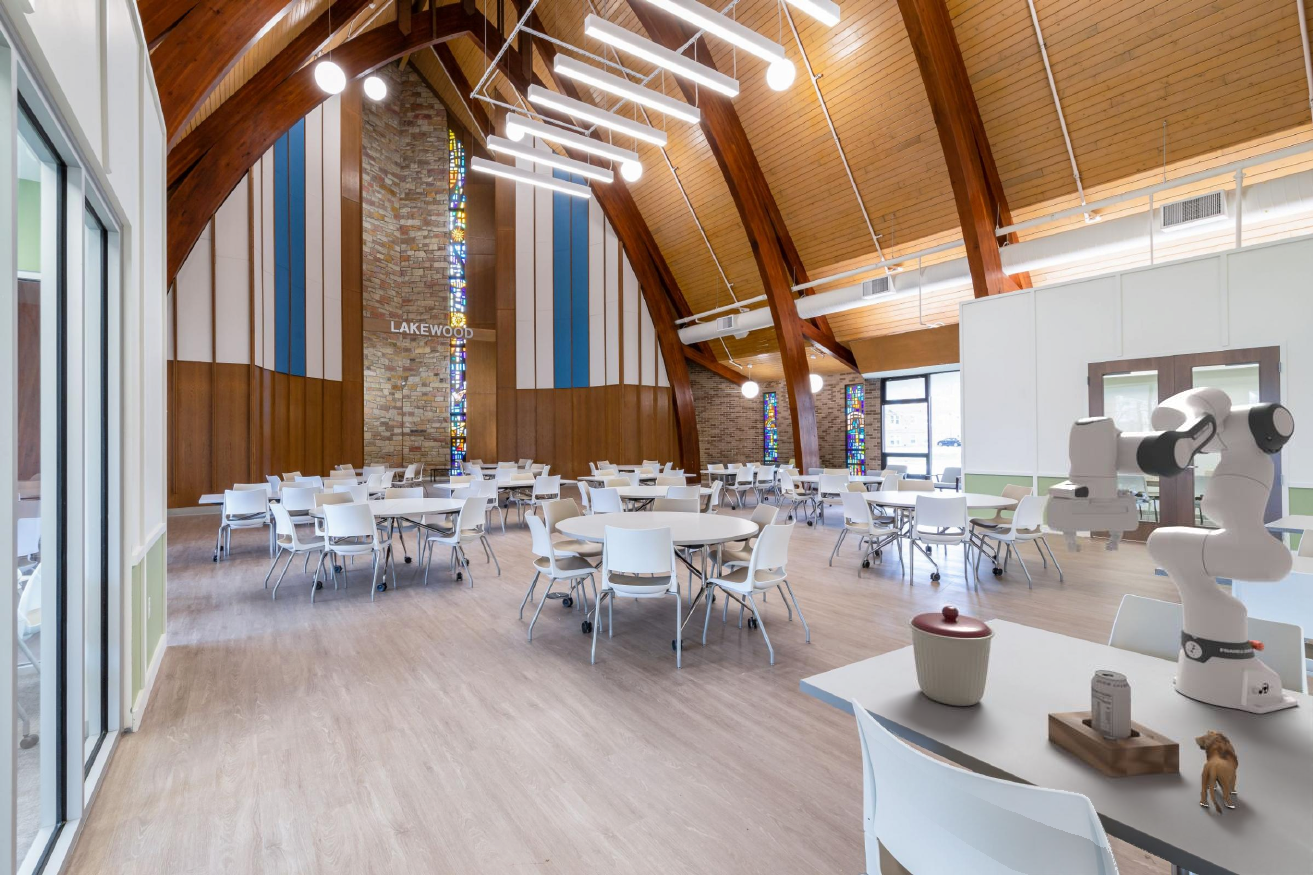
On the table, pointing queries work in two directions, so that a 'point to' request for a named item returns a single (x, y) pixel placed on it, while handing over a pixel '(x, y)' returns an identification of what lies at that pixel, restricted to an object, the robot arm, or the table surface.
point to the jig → (1114, 746)
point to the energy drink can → (1111, 704)
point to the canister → (951, 656)
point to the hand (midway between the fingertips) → (1093, 551)
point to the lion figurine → (1218, 767)
